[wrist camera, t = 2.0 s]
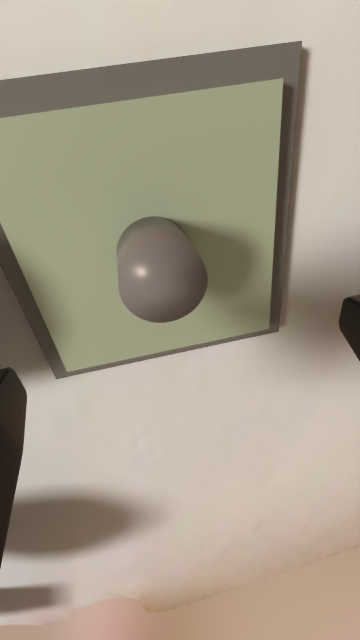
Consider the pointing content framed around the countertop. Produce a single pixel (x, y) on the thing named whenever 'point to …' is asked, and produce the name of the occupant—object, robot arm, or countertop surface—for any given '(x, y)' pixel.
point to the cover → (145, 218)
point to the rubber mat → (150, 82)
